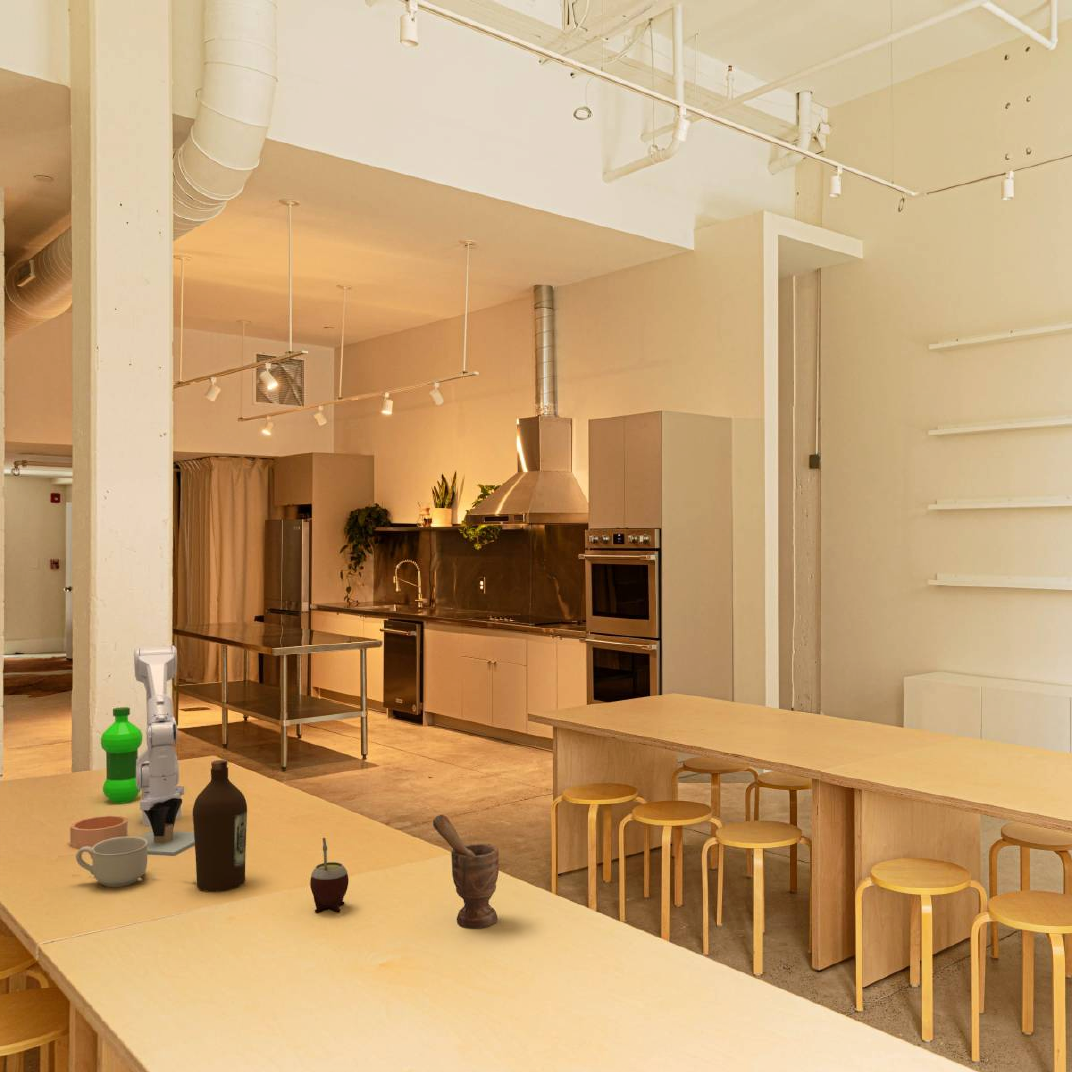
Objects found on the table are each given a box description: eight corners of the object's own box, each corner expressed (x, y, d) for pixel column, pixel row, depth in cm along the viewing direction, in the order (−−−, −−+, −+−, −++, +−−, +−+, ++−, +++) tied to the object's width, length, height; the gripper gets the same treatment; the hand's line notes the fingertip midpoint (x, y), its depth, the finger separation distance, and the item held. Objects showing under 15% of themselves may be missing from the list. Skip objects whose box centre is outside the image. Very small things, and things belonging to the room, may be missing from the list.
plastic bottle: (114, 795, 286) (113, 705, 286) (150, 796, 284) (149, 705, 284) (94, 805, 276) (92, 711, 276) (131, 805, 275) (129, 711, 275)
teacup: (157, 874, 217) (157, 836, 217) (132, 892, 206) (131, 852, 207) (94, 873, 219) (94, 835, 219) (66, 890, 208) (65, 851, 208)
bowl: (93, 835, 247) (93, 814, 247) (138, 838, 244) (137, 817, 244) (59, 850, 235) (59, 828, 235) (105, 853, 232) (105, 831, 232)
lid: (153, 832, 246) (153, 815, 246) (210, 835, 242) (210, 818, 242) (114, 851, 231) (113, 833, 231) (173, 855, 228) (173, 836, 228)
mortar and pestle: (455, 938, 180) (454, 823, 180) (428, 924, 186) (427, 814, 186) (508, 922, 187) (507, 812, 187) (481, 909, 194) (479, 803, 194)
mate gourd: (335, 899, 200) (333, 822, 200) (358, 909, 195) (357, 829, 195) (301, 909, 195) (300, 830, 195) (324, 920, 190) (323, 838, 190)
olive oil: (186, 893, 205) (185, 767, 205) (202, 876, 215) (200, 756, 215) (240, 892, 205) (239, 766, 205) (253, 875, 216) (251, 755, 216)
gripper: (159, 782, 229) (160, 843, 229) (195, 768, 243) (196, 825, 243) (131, 781, 231) (132, 842, 231) (168, 767, 245) (169, 824, 245)
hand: (163, 833), depth 237 cm, fingers closed on lid, 3 cm apart
